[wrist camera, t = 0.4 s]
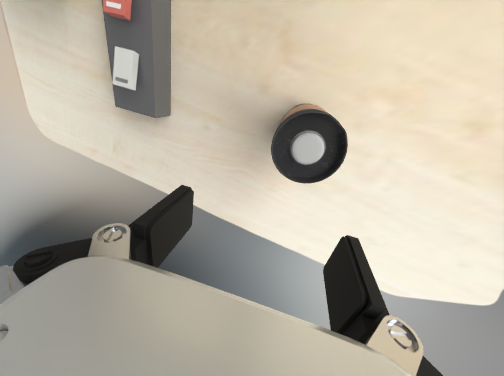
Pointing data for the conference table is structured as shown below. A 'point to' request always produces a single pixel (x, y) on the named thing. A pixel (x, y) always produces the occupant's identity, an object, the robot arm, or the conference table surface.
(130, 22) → the power strip
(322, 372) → the robot arm
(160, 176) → the conference table surface
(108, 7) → the rocker middle
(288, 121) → the travel mug
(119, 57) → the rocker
